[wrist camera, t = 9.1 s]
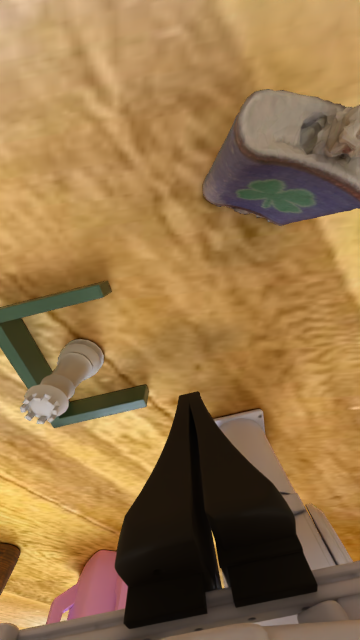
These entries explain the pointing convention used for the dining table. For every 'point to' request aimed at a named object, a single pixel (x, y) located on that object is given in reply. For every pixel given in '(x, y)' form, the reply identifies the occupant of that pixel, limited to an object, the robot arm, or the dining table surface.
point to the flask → (288, 159)
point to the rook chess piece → (62, 381)
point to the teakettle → (92, 590)
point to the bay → (24, 355)
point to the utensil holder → (7, 562)
